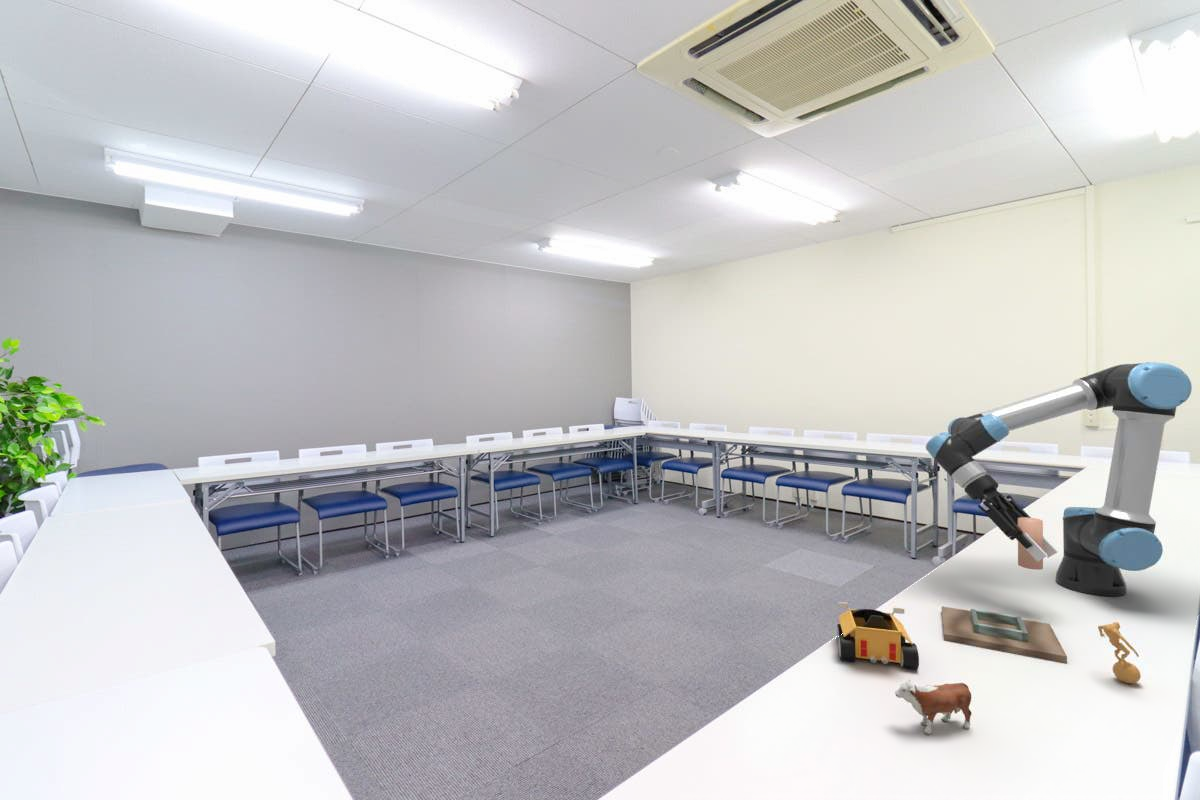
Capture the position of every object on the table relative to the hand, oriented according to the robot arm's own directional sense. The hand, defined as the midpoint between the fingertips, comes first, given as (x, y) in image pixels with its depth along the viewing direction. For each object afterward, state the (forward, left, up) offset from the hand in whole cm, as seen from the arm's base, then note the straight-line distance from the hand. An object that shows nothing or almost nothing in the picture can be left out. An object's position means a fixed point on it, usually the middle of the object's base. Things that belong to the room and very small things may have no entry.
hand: (1047, 556), depth 134 cm
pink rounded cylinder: (+3, -2, -3) cm, 5 cm away
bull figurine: (+25, +62, -17) cm, 69 cm away
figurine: (-7, +28, -16) cm, 33 cm away
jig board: (+12, +15, -16) cm, 25 cm away
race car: (+36, +39, -17) cm, 56 cm away
